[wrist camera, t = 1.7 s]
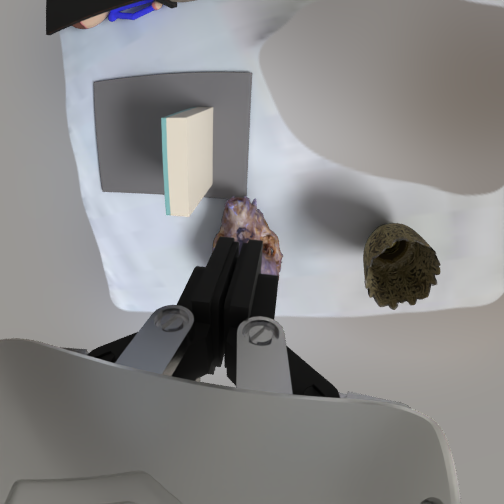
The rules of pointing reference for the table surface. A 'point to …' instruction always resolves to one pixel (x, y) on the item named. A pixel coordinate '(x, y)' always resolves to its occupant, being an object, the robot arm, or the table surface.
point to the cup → (398, 265)
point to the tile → (187, 158)
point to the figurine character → (95, 12)
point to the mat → (150, 129)
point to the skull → (250, 231)
